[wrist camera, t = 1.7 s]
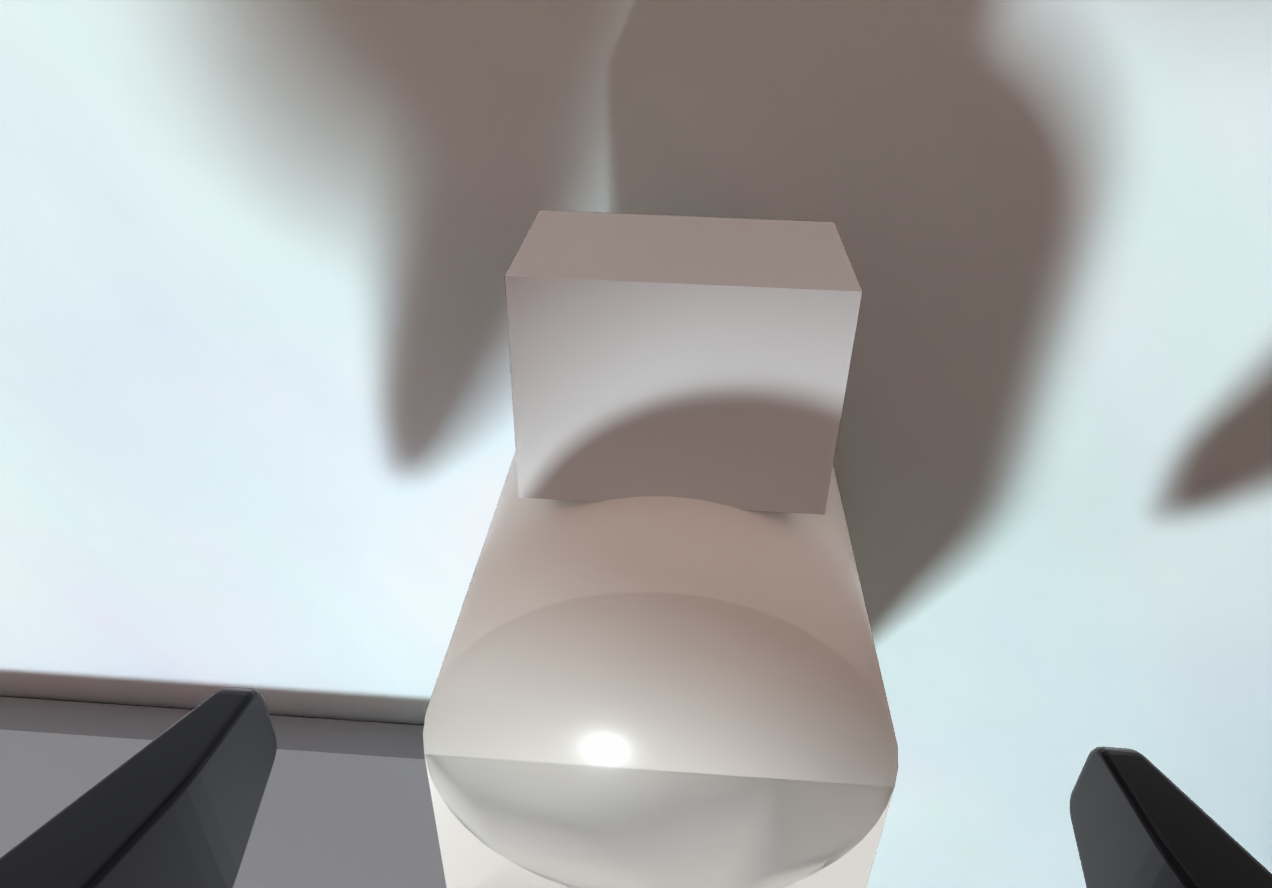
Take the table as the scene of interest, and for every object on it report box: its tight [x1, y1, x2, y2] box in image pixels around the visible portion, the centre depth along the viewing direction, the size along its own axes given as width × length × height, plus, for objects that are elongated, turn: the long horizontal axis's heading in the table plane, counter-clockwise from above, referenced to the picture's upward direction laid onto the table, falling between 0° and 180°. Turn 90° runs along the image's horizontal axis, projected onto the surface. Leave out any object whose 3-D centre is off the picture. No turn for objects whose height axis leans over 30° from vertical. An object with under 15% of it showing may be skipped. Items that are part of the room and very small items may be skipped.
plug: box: [423, 210, 898, 888], centre depth 9 cm, size 9×4×4 cm, turn 179°
